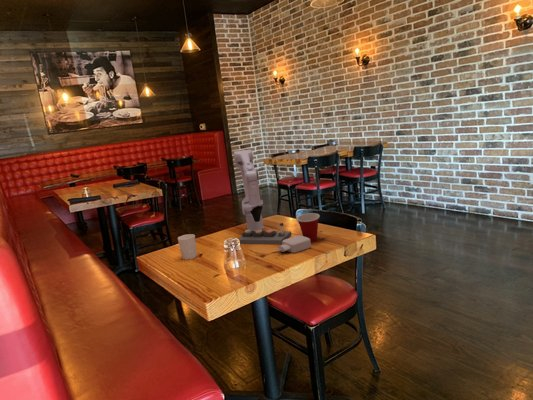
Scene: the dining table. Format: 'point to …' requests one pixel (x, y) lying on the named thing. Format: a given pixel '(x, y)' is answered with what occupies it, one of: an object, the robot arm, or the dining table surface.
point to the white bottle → (295, 244)
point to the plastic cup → (309, 225)
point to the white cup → (187, 246)
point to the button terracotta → (269, 231)
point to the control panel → (264, 237)
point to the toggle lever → (281, 227)
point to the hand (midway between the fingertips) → (257, 221)
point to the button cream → (258, 231)
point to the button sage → (248, 231)
